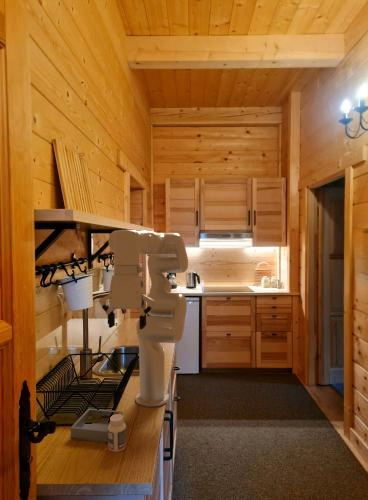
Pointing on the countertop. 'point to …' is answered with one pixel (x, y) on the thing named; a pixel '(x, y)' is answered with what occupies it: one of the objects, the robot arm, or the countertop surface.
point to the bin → (92, 426)
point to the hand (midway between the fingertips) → (126, 327)
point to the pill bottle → (116, 433)
